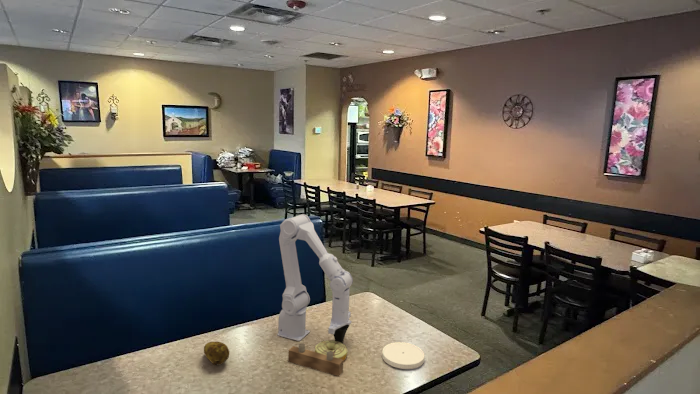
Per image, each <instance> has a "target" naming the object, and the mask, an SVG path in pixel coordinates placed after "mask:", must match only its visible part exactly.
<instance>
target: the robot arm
mask: <svg viewBox="0 0 700 394" xmlns="http://www.w3.org/2000/svg"><path fill="white" fill-rule="evenodd" d="M279 228H280V232H279V237H278V241H279V248H280V254H281V260H282V261H281V262H282V267H283V268H282V269H283V275H284V280H285V289H284V291H283V293H282V302H281V308H282V309H281V310H280V311H279V315H278V321H277V322H278V324H277V325H278V326H277V327H278V332H277V334H276V335H277V336H279V337H282V338H285V339H289V340H294V341H297V342H300V341H302V340H303V339H304V338H305V337H306V336H308V334H309V333H310V332H311V331H310V330H308V329H306V323H307V322H306V321H307V320H306V319H307V318H306V315H307V306H308V305H309V304H310V301H311V298H310V295H309V293H308V292H307V287H306V286H305V285H303V284H302V277H301V272H300V266H299V259H298V252H297V246H296V241H297V240H300V241H305V242H306V243H307V244H308V246H309V248H310V249H312V251H313V252H314V254H315V255H316V256H317V257H318V259H319V260H318V261H319V262H318V264H319V266H320V267H321V269H322V270H323V272H324V273H325V276H326V277H327V278H328V279H329V281H330V282H329V288H330V290H331V292H332V306H331V319H330V322H329V323H330V324H329V327H328V330H327V334H330V335H333V340H334V341H338V342H341V343H342V344H343V343H344V340H345V337H346V334H347V331H348V329H349V327H350V325H352V320H350V318H351V317H352V315H351V311H349V310H350V292H351V291H350V290H351V286H352V285H353V281H354V279H353V278H354V277H353V276H352V274H351V273H350V272H349V271H347V270H345V268H343V267H342V266H341V264H340V262H339V261H338V258H337V256H335V255H334V254H333V253H330V252H328V251H327V249H326V246H324V244H323V242H322V241H321V239H320V237H319V236H318V233H317V232H316V230H315V226H314V223H313V222H312V221H311V219H310V217H309V216H308V215H306V214H305V213H302V214H299V215H297V216H292V217H290V218H286V219H284V220H283V221H282V222H281V223H280V224H279Z"/></svg>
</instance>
